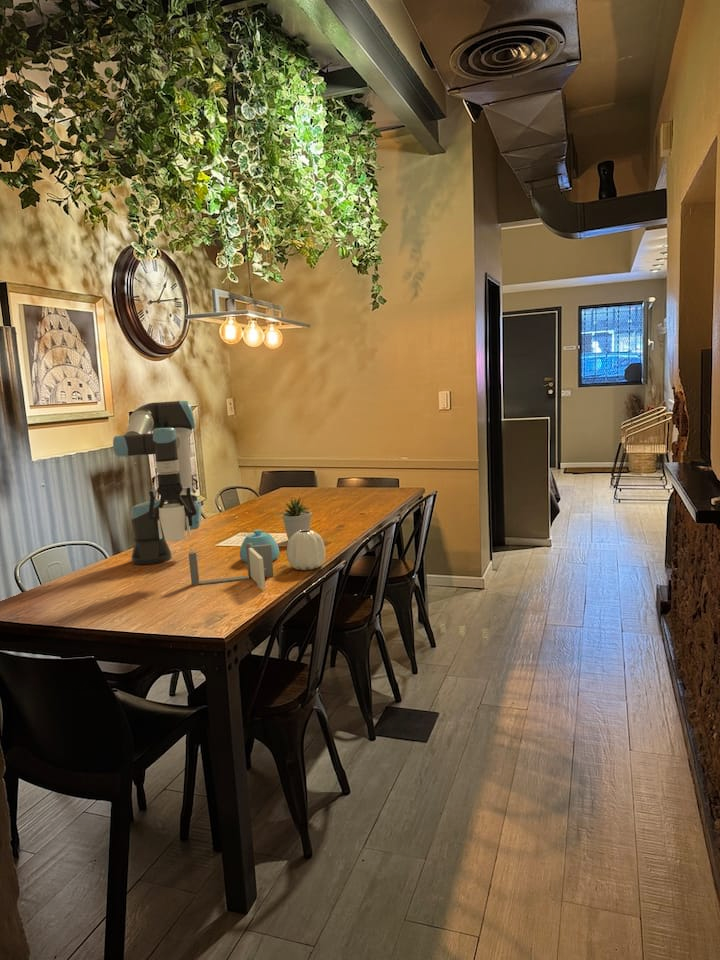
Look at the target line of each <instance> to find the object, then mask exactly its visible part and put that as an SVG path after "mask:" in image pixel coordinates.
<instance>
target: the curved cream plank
mask: <svg viewBox="0 0 720 960" xmlns="http://www.w3.org/2000/svg"><path fill="white" fill-rule="evenodd" d="M248 549H249V560H250V572H251V577H252V578H253V581H254V582H255V583H256V584H257V585H258V586H259V588H260V589H262V590H264V589H266V579H265V578H266V577H264V573H266V568H264V565H263V558H262V557H261V556H260V555H259V554H258V553H257V552H256V551H255V550H254V549H253V548H248Z"/></svg>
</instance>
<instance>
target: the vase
mask: <svg viewBox="0 0 720 960" xmlns="http://www.w3.org/2000/svg"><path fill="white" fill-rule="evenodd" d="M286 558H287V562H288V563H289V565H290V566H291V567H292V568H293V569H295V570H296V571H297V570H298V571H308V570H309V571H310V570H313V569H318V568H319V567H322V565H323V563H324V562H325V561H326V547H325V544H324V539H323V538H322V535H320V534H319V533H317V532H316V531H314V530H312V529H310V530H300V531H297V532H296V533H295V534H293V535H292V536H291V537H290V538H289V540H288V541H287V546H286Z"/></svg>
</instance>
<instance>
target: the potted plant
mask: <svg viewBox="0 0 720 960" xmlns="http://www.w3.org/2000/svg"><path fill="white" fill-rule="evenodd" d="M301 499H302V497H301V496H300V495H299V496H298V498H294V500H293V498H289V501H290V502H291V503H290V504H289V503H287V502H286V501H284V503H285V505H286V507H288V509H286V508H284V511H285V512H279V514H281V518H282V520H283V526H284V529H285V534H286V537H287V540H288V541H289V538H290V537H291V536H292V535H293V534H295V533H296V532H297V531H300V530H311V519H312V511H310V510H309V509H311V506H308V507H307V506H304V499H305V498H303V500H302V502H301Z"/></svg>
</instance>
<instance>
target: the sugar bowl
mask: <svg viewBox="0 0 720 960" xmlns="http://www.w3.org/2000/svg"><path fill="white" fill-rule="evenodd" d="M262 531H263V530H262V529H254V530H253V533H250V534H247V535H246V536H245V538H244V540H243V541H242V544H241V547H240V550H239V558H240V559H241V561H243V562H244V563H245V564H247V553H246V544H247V543H252V548H253V546H255V545H264V544H271V551H272V562H273V561H275V560H276V559H278V557H279V555H280V548H279V545H278V542H277V541H276V539H274V537H273V536H272V535H271V534H270V533H269V532H262Z"/></svg>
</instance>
